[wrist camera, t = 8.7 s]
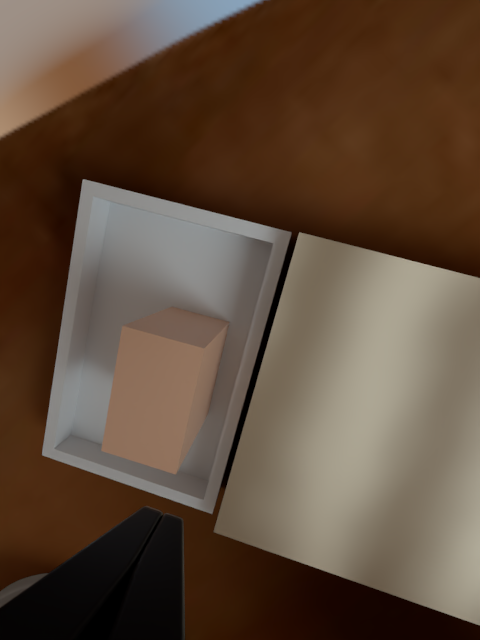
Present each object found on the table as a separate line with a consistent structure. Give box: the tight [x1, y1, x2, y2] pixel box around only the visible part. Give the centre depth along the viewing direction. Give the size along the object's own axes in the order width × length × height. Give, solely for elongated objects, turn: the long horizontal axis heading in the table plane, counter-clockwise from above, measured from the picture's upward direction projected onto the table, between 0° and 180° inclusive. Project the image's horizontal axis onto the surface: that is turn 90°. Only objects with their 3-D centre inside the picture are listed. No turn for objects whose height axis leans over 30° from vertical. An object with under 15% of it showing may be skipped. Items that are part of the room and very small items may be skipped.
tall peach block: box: [101, 307, 230, 475], centre depth 14 cm, size 5×5×3 cm
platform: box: [214, 232, 480, 625], centre depth 15 cm, size 16×14×3 cm
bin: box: [42, 179, 292, 514], centre depth 17 cm, size 9×14×2 cm
